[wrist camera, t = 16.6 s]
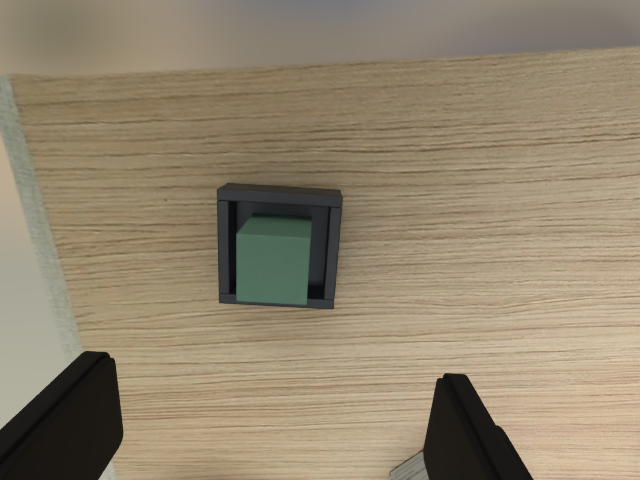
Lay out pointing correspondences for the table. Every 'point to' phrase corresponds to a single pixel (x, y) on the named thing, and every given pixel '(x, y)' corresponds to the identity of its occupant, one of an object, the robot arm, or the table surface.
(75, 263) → the table surface
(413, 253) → the table surface
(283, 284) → the pad block
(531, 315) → the table surface
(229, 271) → the socket
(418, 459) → the ink box
